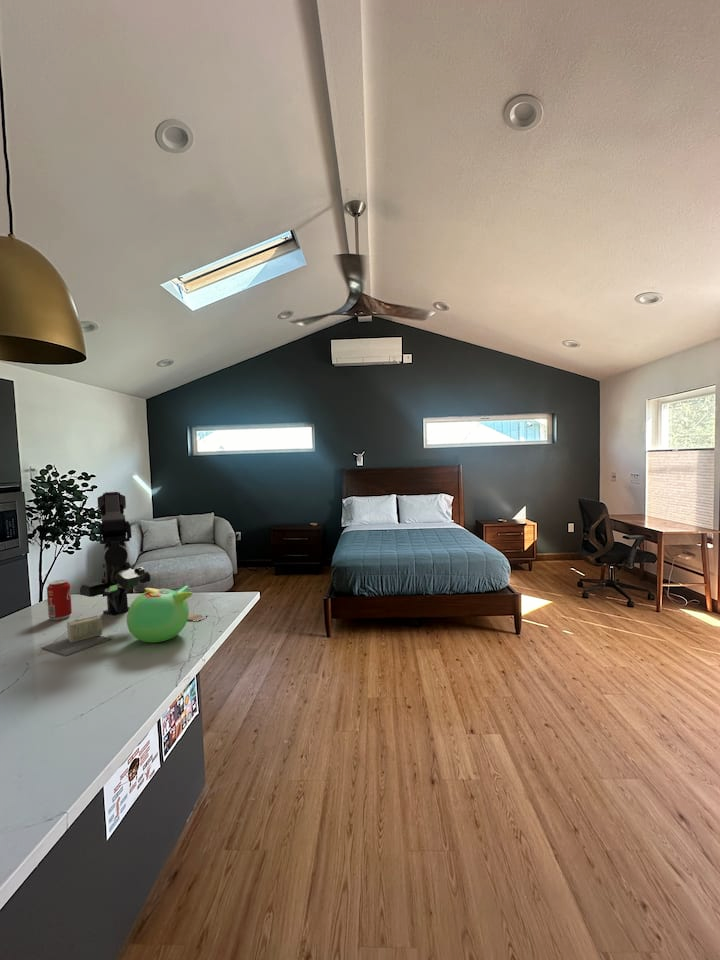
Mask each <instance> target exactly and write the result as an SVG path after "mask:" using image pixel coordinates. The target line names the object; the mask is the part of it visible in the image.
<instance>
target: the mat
mask: <svg viewBox="0 0 720 960" xmlns="http://www.w3.org/2000/svg"><path fill="white" fill-rule="evenodd" d="M111 640H112V638H111V637H107V636H104V635H99V636H95V637H92V638H88V639H84V640H80V641H76V642H72V643H71V642H70V641H69V640H68V638H65V639H62V640H59V641H57V642H56V641H55V642H53V643H50V644H48V645H44V646H41V649H42V650H46V651H47V652H48V651H49V652H51V653H54V652H55V654H58V655H61V656H65V657H67V656H70V655H74V654H76V653H79V652H81V651H85V650H86V649H90V648H93V647H95V646H98V645H100V644H103V643H106V642H109V641H111Z"/></svg>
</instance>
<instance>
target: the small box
mask: <svg viewBox="0 0 720 960" xmlns="http://www.w3.org/2000/svg"><path fill="white" fill-rule="evenodd" d="M102 628H103V627H102V618H101V617H100V616H99V615H98V614H97V615H94V616H90V617H89V616H88V617H84V618H79V619H76V620H72V621H67V622H66V629H67V639H68V640H69V641H70V642H71V643H72V642H76V641H80V640H84V639H88V638H92V637H95V636H99V635H100V636H103V629H102Z"/></svg>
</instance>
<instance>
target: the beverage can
mask: <svg viewBox="0 0 720 960" xmlns="http://www.w3.org/2000/svg"><path fill="white" fill-rule="evenodd" d="M48 583H49V584H48V586H47V587H46V593H47V594H46V595H47V597H46V598H47V612H48V618H49V619H51V621H60V619H61V620H65V619H68V618H69V617H70V616H71V615H72V613H73V612H72V595H71V594H72V593H71V584H70V583H69V582H68V580H67V579H57V580H53V581H50V582H48ZM67 617H68V618H67Z"/></svg>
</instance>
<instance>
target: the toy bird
mask: <svg viewBox="0 0 720 960" xmlns="http://www.w3.org/2000/svg"><path fill="white" fill-rule="evenodd" d="M144 590H145V591H144V592H142V594H139V595H138V596H137V597H136V598H135V599H134V600H133V601H132V602H131V604H130V606H129V607H130V608H129V610H128V611H127V615H126V625H127V629H128V631H129V633H130V635H132V636H133V637H134V638H135V639H137V640H139V641H141V642H145V643H150V644H151V643H153V644H154V643H161V642H162V643H163V642H166V641H168V640H171V639H173V638H174V637H176V636H177V635H179V634H180V633H181V632H182V631H183V629H184V628H185V626H186V624H187V623H188V621H187V620H188V616H189V615H190V614H189V613H190V612H189V611H190V610H189V605H188V602H187V601H188V600H187V599H189V598H190V597H191V596H193V592H191V591H189V590H190V587H189V585H184V586H183V587H181V588H179V589H178V590H173V589H169V588H161V587H160V588H154V587H153V588H152V587H144Z"/></svg>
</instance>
